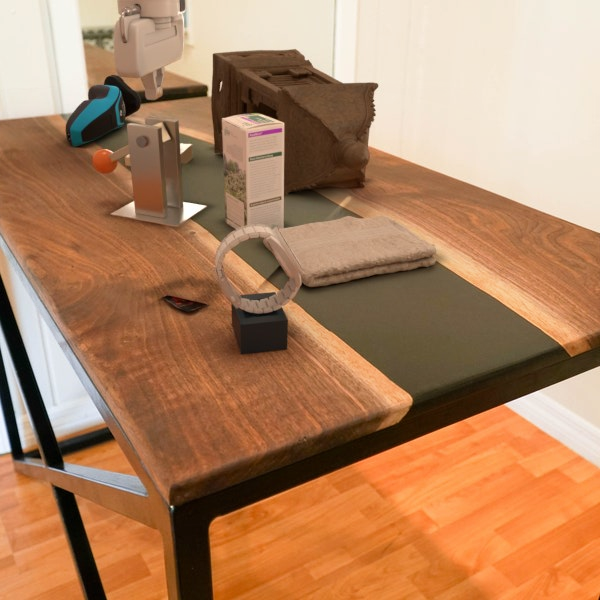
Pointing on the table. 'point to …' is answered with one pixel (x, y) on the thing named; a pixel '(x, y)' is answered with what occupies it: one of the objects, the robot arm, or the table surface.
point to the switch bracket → (156, 175)
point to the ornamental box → (298, 114)
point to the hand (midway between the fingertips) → (154, 98)
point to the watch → (263, 306)
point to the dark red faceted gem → (183, 303)
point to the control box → (185, 154)
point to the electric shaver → (102, 111)
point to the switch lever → (117, 155)
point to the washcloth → (355, 249)
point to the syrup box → (253, 170)
